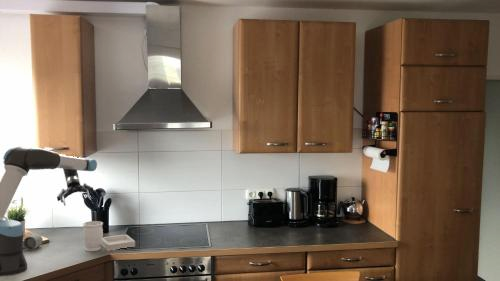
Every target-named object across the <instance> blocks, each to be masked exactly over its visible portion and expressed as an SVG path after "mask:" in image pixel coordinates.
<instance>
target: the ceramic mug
mask: <svg viewBox="0 0 500 281" xmlns="http://www.w3.org/2000/svg"><path fill="white" fill-rule="evenodd" d="M42 243H43V238H42V236H41V235H40V234H37V233H36V234H35V233H34V234H31V235H29V236H27V237H25V238H23V249H25V250H26V251H34V250H35V249H36V248H38V247H40V246H41V245H42Z"/></svg>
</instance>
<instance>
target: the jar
mask: <svg viewBox="0 0 500 281" xmlns="http://www.w3.org/2000/svg"><path fill="white" fill-rule="evenodd" d="M82 225H83V230H82V237H83V243H84V246H85V247H84V250H85V252H97V251H100V250H101V246H102V245H101V243H102V237H103V236H104V232H103V231H104V229H103V225H104V222H102V221H99V220H98V221H97V220H92V221H89V220H88V221H85V222H83V224H82Z"/></svg>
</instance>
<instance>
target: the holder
mask: <svg viewBox="0 0 500 281" xmlns="http://www.w3.org/2000/svg"><path fill="white" fill-rule="evenodd" d="M100 246H102V248H104V249H105V250H106V251H107V252H111V251H110V250H113V251H116V250H115V249H120V248H127V247H134V246H135V247H136V240H134V239H133V238H132V237H130V236H129V235H128V234H120V235H119V234H118V235H109V236H104V237H102V243H101V245H100ZM135 247H134V248H135ZM127 249H128V248H127ZM120 250H121V249H120Z"/></svg>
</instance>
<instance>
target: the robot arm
mask: <svg viewBox="0 0 500 281" xmlns="http://www.w3.org/2000/svg"><path fill="white" fill-rule="evenodd" d="M73 156H74V155H73ZM73 156H66V155H65V154H60V153H58V152H57V151H52V150H48V149H43V148H40V147H25V146H24V147H23V146H13V147H10V148H9V149H7V150H6V152H5V153H4V155H3V159H2V160H3V165H4V166H3V168H4V170H5V172H4V174H3V176H2V177H1V179H0V276H3V277H5V276H12V275H13V276H14V275H18V274H20V273H23V272H25V271H26V270H27V269H28V262H27V259H26V258H25V255H24V248H23V241H24V229H23V228H24V227H23V224H22V223H21V222H20V221H18V220H13V219H4V218H5V216H6V213H7V212H8V209H9V206H10V204H11V202H12V200H13V199H14V196H15V195H16V192H17V190H18V187H19V186H20V183H21V181H22V179H23V177H26V176H28V174H29V172H30V171H31V170H35V171H36V170H37V171H38V170H39V171H40V170H56V169H62V170H63V174H64V179H65V181H66V189H65V188H62V189H61V191H60V192H59V194H57V196H56V198H57V201H58V202H61V203H63V205H64V206H66V199H67V198H68V197H69V196H71V195H72V194H74V193H86V194H87V195H88V196H87V197H88V199H89V200H91V196H92V193H95V190H94V187H92V186H90V185H88V184H87V183H83V184H82V185H81V182H80V178H79V173H78V171H83V172H95V171H96V169H97V167H98V163H97V160H96V159H94V158H93V159H92V158H85V157H84V158H83V157H79V158H77V157H78V156H74V157H73Z"/></svg>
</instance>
